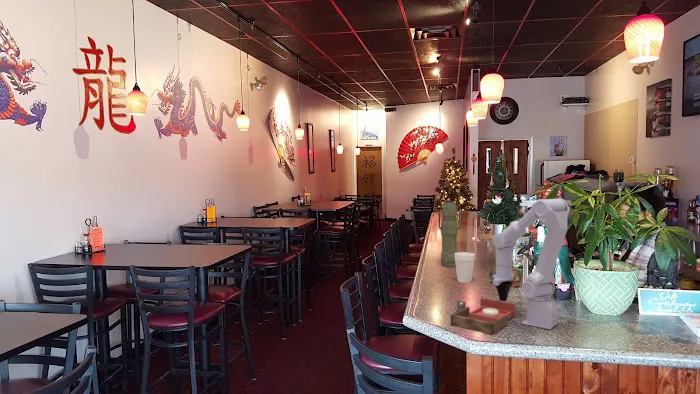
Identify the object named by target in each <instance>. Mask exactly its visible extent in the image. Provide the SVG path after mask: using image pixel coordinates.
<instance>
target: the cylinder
mask: <svg viewBox="0 0 700 394" xmlns="http://www.w3.org/2000/svg"><path fill="white" fill-rule="evenodd" d="M466 305H467V304H466V301H462V300H460V301H459V300H458V301H456V312H458V311H460V310H462V309H464V308H466V307H467V306H466Z"/></svg>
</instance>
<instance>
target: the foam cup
mask: <svg viewBox="0 0 700 394" xmlns="http://www.w3.org/2000/svg"><path fill="white" fill-rule="evenodd" d="M475 261H476V254H475V253H474V252H465V251H462V252H461V251H459V252H458V251H457V253H455V263H456V267H455V270H456V279H457V282H459V283H463V284H468V283H471V282H472V279H473V272H474V266H475Z"/></svg>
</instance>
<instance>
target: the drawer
mask: <svg viewBox="0 0 700 394" xmlns="http://www.w3.org/2000/svg"><path fill="white" fill-rule="evenodd" d="M484 308H494V309H497V310H498V317H497V318H493V317H488V316H484V315H483V309H484ZM515 312H516V304H515V303H511V302H507V301H500V300H494V299H489V298H484V297H481V298H480V306H479V307H477V308H476V309H474V310H472V311H469V317H468V318H472V319H476V320H481V321H485V322H490V323H493V322H494V321H496V320H498V319H499V318H501V317H502V316H504V315H508V320H509V319H510V318H516V315H515V314H516V313H515Z"/></svg>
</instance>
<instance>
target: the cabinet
mask: <svg viewBox="0 0 700 394" xmlns="http://www.w3.org/2000/svg"><path fill="white" fill-rule="evenodd" d="M469 313H470V307H469V306H466V308H464V309H462V310H460V311H458V312H457V311H456V312H454V313H452V314H451V315H450V326H453V327H457V328H463V329H467V330H471V331H476V332H480V333H484V334H487V335H488V334H489V335H494V334H496V333H498V332H499V331H502V329H504V328H506V327H507V326H509V319H508V315H504V316H502V317H501V318H499V319H498V320H496V321H494V322H493V323H490V322H485V321H481V320H476V319H472V318H469Z"/></svg>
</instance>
